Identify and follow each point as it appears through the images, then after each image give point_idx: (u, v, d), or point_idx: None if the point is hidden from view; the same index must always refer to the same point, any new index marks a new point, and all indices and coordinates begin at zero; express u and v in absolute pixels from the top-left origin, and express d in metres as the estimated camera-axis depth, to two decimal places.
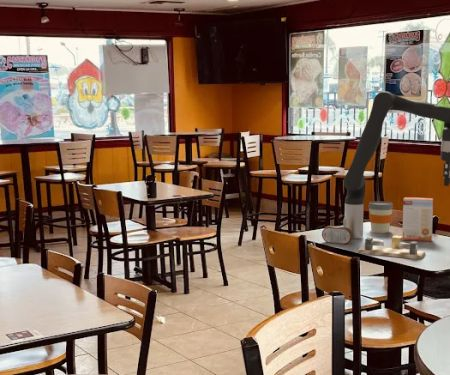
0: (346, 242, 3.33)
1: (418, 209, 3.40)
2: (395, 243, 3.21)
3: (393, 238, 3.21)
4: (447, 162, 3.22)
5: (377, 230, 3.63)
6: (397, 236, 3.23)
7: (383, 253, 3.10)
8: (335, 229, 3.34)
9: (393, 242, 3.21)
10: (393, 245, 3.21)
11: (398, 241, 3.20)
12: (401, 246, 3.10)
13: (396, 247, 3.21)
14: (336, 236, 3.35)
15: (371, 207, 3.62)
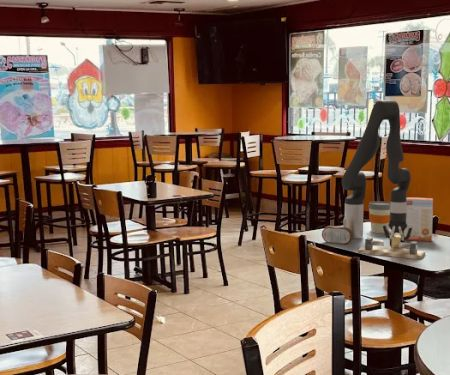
0: (346, 242, 3.33)
1: (418, 209, 3.40)
2: (395, 242, 3.21)
3: (393, 238, 3.21)
4: None
5: (377, 230, 3.63)
6: (397, 236, 3.23)
7: (383, 253, 3.10)
8: (335, 229, 3.34)
9: (393, 242, 3.21)
10: (393, 245, 3.21)
11: (398, 241, 3.20)
12: (401, 246, 3.10)
13: (396, 247, 3.21)
14: (336, 236, 3.35)
15: (371, 207, 3.62)
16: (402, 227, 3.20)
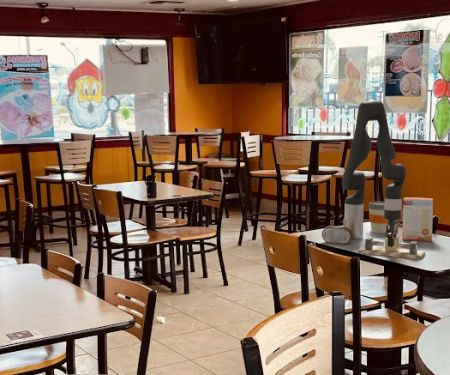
0: (346, 242, 3.33)
1: (418, 209, 3.40)
2: (397, 243, 3.11)
3: (397, 239, 3.10)
4: None
5: (377, 230, 3.63)
6: None
7: (383, 253, 3.10)
8: (335, 229, 3.34)
9: (397, 243, 3.11)
10: (396, 246, 3.11)
11: (398, 241, 3.13)
12: (401, 246, 3.10)
13: (397, 248, 3.12)
14: (337, 236, 3.35)
15: (371, 207, 3.62)
16: None
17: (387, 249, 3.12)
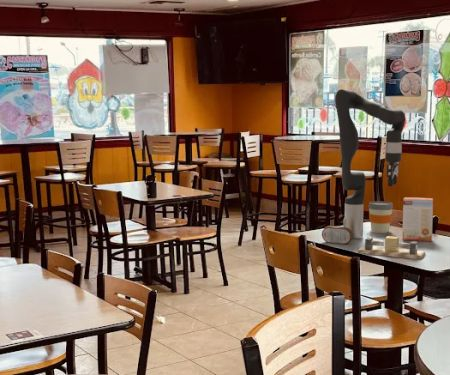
0: (346, 242, 3.33)
1: (418, 209, 3.40)
2: (397, 243, 3.11)
3: (397, 239, 3.10)
4: None
5: (377, 230, 3.63)
6: (391, 237, 3.13)
7: (383, 253, 3.10)
8: (335, 229, 3.34)
9: (397, 243, 3.11)
10: (396, 246, 3.11)
11: (398, 241, 3.13)
12: (401, 246, 3.10)
13: (397, 248, 3.12)
14: (336, 236, 3.35)
15: (371, 207, 3.62)
16: (396, 165, 3.34)
17: (387, 249, 3.12)
